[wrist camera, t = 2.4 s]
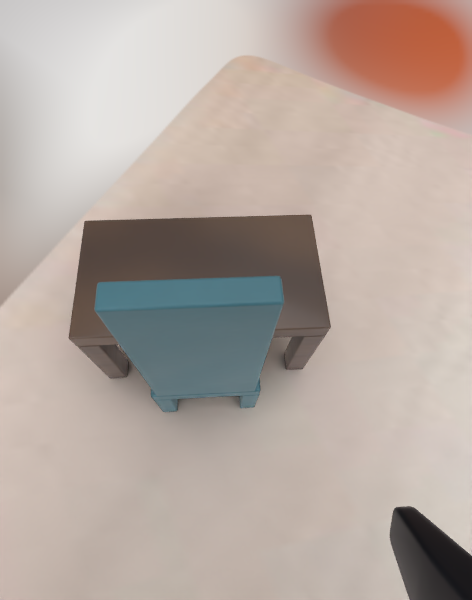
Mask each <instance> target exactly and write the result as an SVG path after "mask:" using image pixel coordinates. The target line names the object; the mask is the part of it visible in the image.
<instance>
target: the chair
mask: <svg viewBox="0 0 472 600" xmlns="http://www.w3.org/2000/svg"><path fill="white" fill-rule="evenodd" d="M283 304H284V295H283V287H282V279H281V277H280V276H257V277H229V278H200V279H172V280H144V281H116V282H99V283H98V284H97V290H96V299H95V308H94V309H95V312H96V313H97V315H98V316H99V317H100V319H101V320H102V321H103V323H104V324H105V326H106V327H107V328H108V330H109V331H110V332H111V334H112V335H113V337H114V338H115V339H116V341H117V342H118V343H119V345H120V346H121V347H122V349H123V350H124V352H125V353H126V354H127V356H128V357H129V358H130V360H131V361H132V363H133V364H134V365H135V367H136V368H137V369H138V371H139V372H140V374H141V375H142V376H143V378H144V379H145V380H146V382H147V383H148V385H149V386H150V387H151V397H152V398H153V399H154V401H155V402H156V403H157V404H158V406H159V407H160V408H161V409H162V411H163V412H172V411H177V410H178V399H185V398H205V397H224V396H239V400H240V408H249V407H254V406H255V404H256V401H257V399H258V396H259V393H260V378H259V377H260V374H261V371H262V367H263V364H264V361H265V358H266V355H267V352H268V349H269V346H270V343H271V340H272V337H273V334H274V331H275V328H276V325H277V322H278V319H279V316H280V313H281V310H282V307H283Z"/></svg>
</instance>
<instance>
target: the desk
mask: <svg viewBox="0 0 472 600" xmlns="http://www.w3.org/2000/svg"><path fill="white" fill-rule="evenodd" d="M257 276H280V277H281V279H282V287H283V295H284V304H283V307H282V310H281V313H280V316H279V319H278V322H277V325H276V328H275V331H274V334H273V337H272V338H275V337H292V338H291V341H290V343H289V345H288V347H287V349H286V351H285V354H284V355H285V364H286V369H287V370H290V369H303V368H304V366H305V365H306V363H307V362H308V360H309V359H310V357H311V356H312V354H313V353H314V351H315V350H316V348H317V347H318V345H319V344H320V342H321V341H322V339H323V338H324V337H325V335H326V334H327V332H328V331H329V329H330V327H331V325H330V320H329V314H328V308H327V302H326V297H325V291H324V285H323V279H322V274H321V268H320V262H319V256H318V251H317V245H316V239H315V233H314V228H313V222H312V216H311V215H282V216H246V217H209V218H173V219H136V220H100V221H85V222H84V229H83V236H82V244H81V251H80V259H79V266H78V273H77V281H76V288H75V296H74V303H73V310H72V318H71V325H70V333H69V339H70V340H71V341H72V342H73V343H74V344H75V345H76V346H78V348H79V349H80V350H81V351H83V352H84V353H85V354H86V355H87V356H88V357H89V358H90V359H91V360H92V361H93V362H94V363H95V364H96V365H97V366H98V367H99V368H100V369H101V370H102V371H103V372H104V373H105V374H106V375H107V376H108V377H109V378H121V377H127V370H128V360H127V359H126V358H125V356H124V355H123V354H122V352H121V351H120V350H119V348H118V347H117V346H116V344H119V343H118V342H117V341H116V339H115V338H114V337H113V335H112V334H111V332H110V331H109V330H108V328H107V327H106V326H105V324H104V323H103V321H102V320H101V319H100V317H99V316H98V315H97V313H96V312H95V309H94V308H95V299H96V290H97V284H98V283H99V282H116V281H144V280H172V279H200V278H229V277H257Z"/></svg>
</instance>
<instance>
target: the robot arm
mask: <svg viewBox="0 0 472 600" xmlns="http://www.w3.org/2000/svg"><path fill="white" fill-rule="evenodd" d="M390 541H391V545H392V548H393V551H394V554H395V557H396V560H397V563H398V566H399V569H400V572H401V575H402V578H403V581H404V584H405V587H406V590H407V593H408V596H409V599H410V600H472V556H471V555H470V554H469V553H468V552H467V551H465V550H464V549H463V548H462V547H461V546H459V545H458V544H457V543H456V542H455V541H453V540H452V539H451V538H450V537H449V536H448V535H446V534H445V533H444V532H443V531H442V530H440V529H439V528H438V527H437V526H436V525H434V524H433V523H432V522H431V521H430V520H428V519H427V518H426V517H425V516H424V515H423V514H421V513H420V512H419V511H418V510H417V509H415V508H413V507H411V506H406V507H396V508H395V509H394V511H393V516H392V522H391V528H390Z"/></svg>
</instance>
